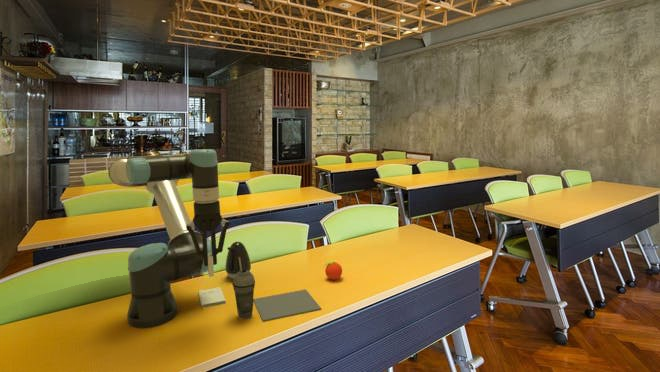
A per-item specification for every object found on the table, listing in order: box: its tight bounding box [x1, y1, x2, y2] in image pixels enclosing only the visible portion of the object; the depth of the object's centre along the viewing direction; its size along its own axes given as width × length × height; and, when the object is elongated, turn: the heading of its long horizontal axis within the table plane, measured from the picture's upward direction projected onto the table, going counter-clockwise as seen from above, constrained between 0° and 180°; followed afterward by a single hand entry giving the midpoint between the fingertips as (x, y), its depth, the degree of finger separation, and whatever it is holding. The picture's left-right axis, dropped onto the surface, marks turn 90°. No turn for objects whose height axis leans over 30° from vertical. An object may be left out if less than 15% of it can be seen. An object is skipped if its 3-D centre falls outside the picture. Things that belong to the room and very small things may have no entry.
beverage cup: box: [232, 257, 256, 320], centre depth 121 cm, size 7×7×20 cm
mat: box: [253, 289, 322, 322], centre depth 130 cm, size 20×16×1 cm
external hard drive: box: [197, 286, 227, 309], centre depth 136 cm, size 2×8×12 cm
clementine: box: [323, 261, 343, 281], centre depth 151 cm, size 8×7×7 cm
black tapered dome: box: [224, 241, 252, 280], centre depth 153 cm, size 10×10×15 cm
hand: (211, 274), depth 116 cm, fingers closed
